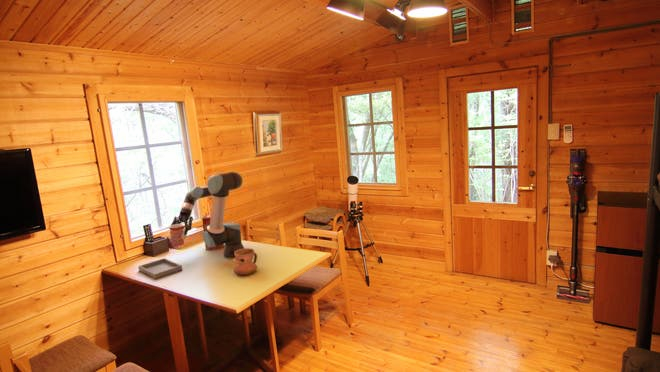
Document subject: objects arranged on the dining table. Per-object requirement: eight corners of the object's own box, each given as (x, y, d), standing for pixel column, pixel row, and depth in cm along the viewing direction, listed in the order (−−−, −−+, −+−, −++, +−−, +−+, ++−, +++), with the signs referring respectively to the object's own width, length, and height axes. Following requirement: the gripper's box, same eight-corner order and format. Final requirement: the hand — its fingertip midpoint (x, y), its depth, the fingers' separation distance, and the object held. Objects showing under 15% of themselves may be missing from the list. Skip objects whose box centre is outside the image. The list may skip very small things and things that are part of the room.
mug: (175, 247, 270) (173, 228, 267) (168, 244, 276) (166, 226, 273) (192, 242, 279) (190, 224, 277) (185, 240, 285) (183, 221, 282)
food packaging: (205, 250, 300) (201, 218, 295) (206, 246, 309) (203, 215, 304) (223, 248, 302) (220, 216, 298) (224, 244, 311) (221, 213, 307)
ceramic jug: (241, 279, 241) (239, 257, 239) (227, 274, 251) (226, 252, 249) (264, 270, 254) (263, 249, 252) (251, 265, 264) (249, 245, 262)
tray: (182, 270, 262) (181, 265, 261) (155, 279, 249) (154, 274, 248) (165, 262, 278) (164, 257, 277) (139, 271, 265) (138, 266, 264)
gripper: (202, 212, 287) (193, 241, 274) (175, 213, 292) (165, 241, 279) (197, 207, 281) (187, 236, 268) (170, 207, 286) (160, 236, 273)
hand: (176, 238), depth 274 cm, fingers closed on mug, 8 cm apart
